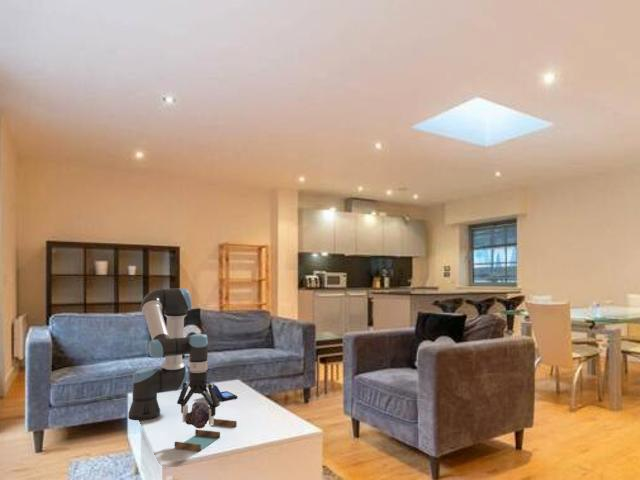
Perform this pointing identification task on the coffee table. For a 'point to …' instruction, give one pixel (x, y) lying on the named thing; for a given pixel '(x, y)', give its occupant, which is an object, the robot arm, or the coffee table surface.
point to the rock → (198, 415)
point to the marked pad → (201, 441)
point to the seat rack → (205, 435)
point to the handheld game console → (223, 394)
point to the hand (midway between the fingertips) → (198, 422)
